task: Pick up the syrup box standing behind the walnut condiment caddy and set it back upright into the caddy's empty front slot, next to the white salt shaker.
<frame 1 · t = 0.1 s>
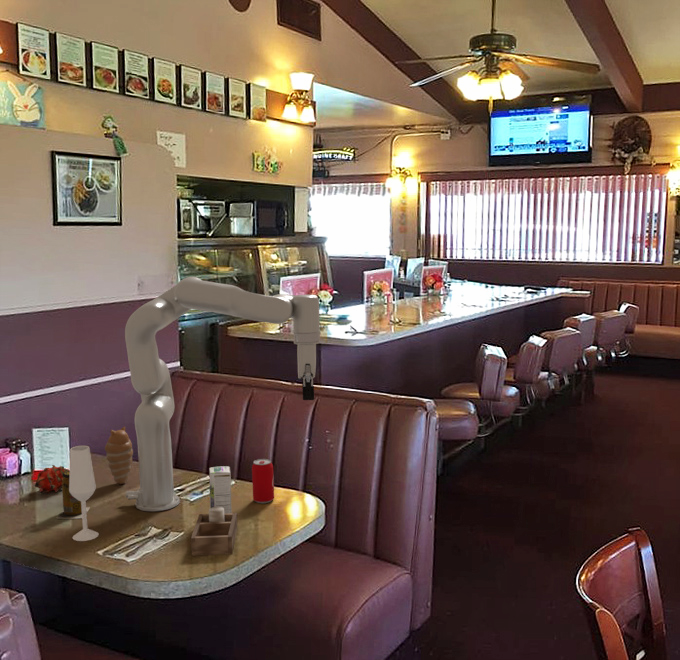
hand: (308, 396, 229), 31 cm above the table, tool pointing down, fingers open, 9 cm apart
beverage can: (263, 501, 233), on the table
dragon fruit: (52, 491, 245), on the table
syrup box: (221, 520, 219), on the table
champagne flute: (85, 536, 209), on the table
condiment: (73, 514, 226), on the table
caddy: (215, 541, 204), on the table
cat ice cream: (121, 484, 251), on the table
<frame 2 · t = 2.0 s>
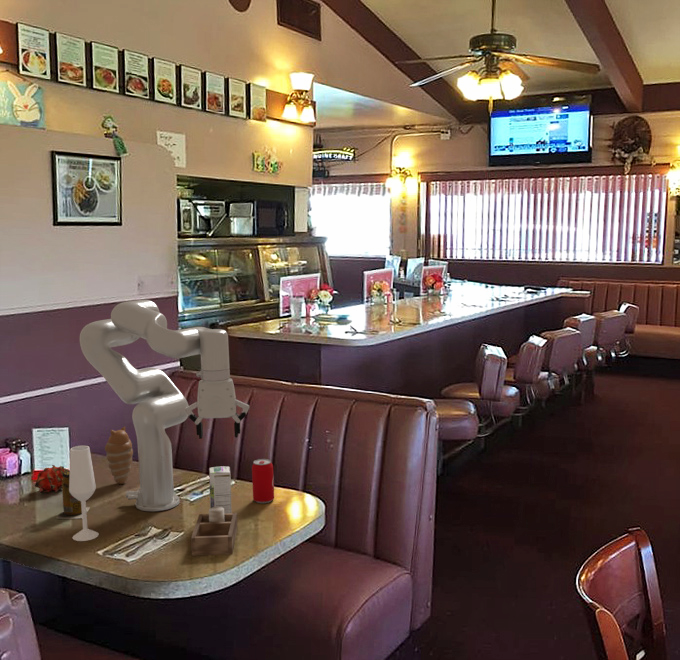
hand: (218, 436, 215), 24 cm above the table, tool pointing down, fingers open, 9 cm apart
nothing on the table moved.
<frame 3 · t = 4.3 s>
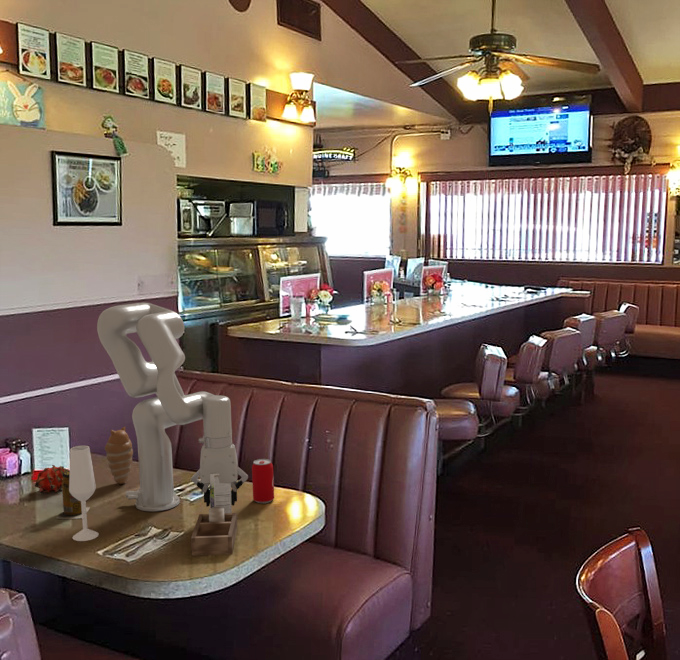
hand: (220, 503, 218), 5 cm above the table, tool pointing down, fingers closed on syrup box, 6 cm apart
syrup box: (221, 520, 219), on the table, touching gripper
everything else where it was.
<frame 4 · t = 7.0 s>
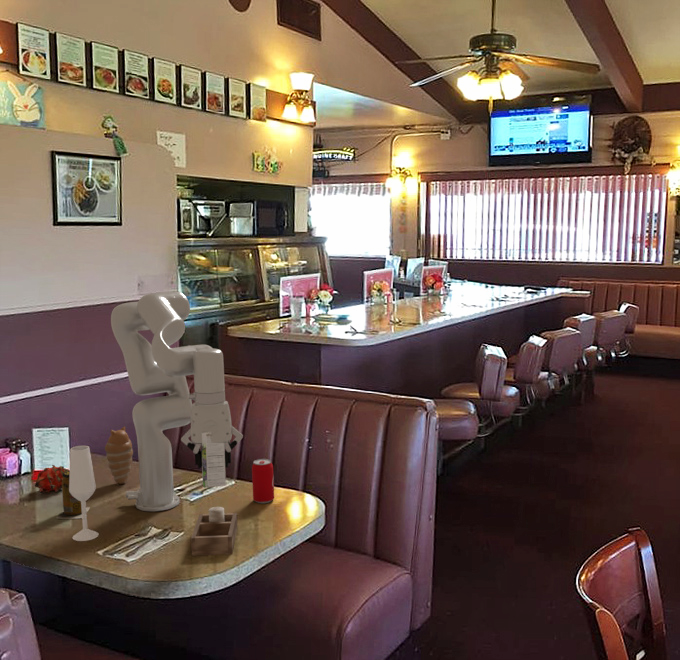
hand: (213, 466, 202), 20 cm above the table, tool pointing down, fingers closed on syrup box, 6 cm apart
syrup box: (214, 484, 202), point 15 cm above the table, touching gripper
everything else where it was.
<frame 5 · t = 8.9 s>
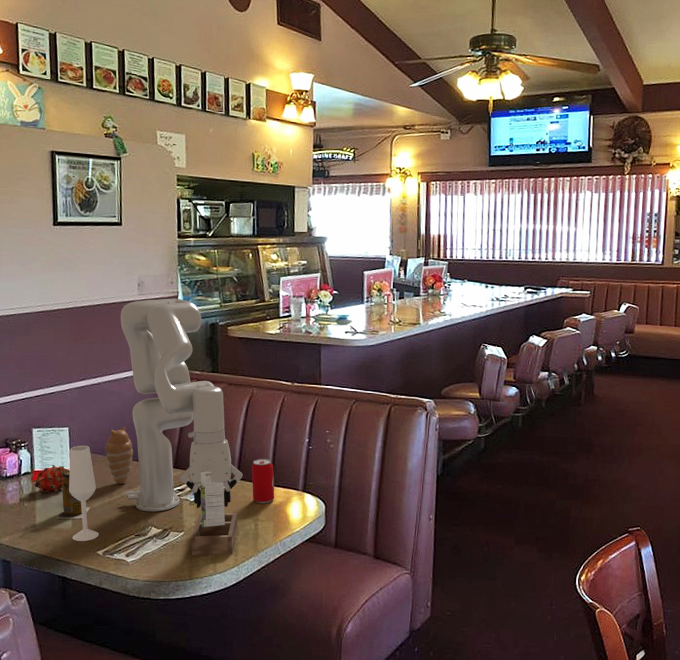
hand: (212, 504, 199), 11 cm above the table, tool pointing down, fingers closed on syrup box, 6 cm apart
syrup box: (213, 523, 200), point 6 cm above the table, touching gripper
everything else where it was.
when the fingers open (7 cm above the table, at t = 10.2 s): syrup box drops 1 cm, resting on caddy.
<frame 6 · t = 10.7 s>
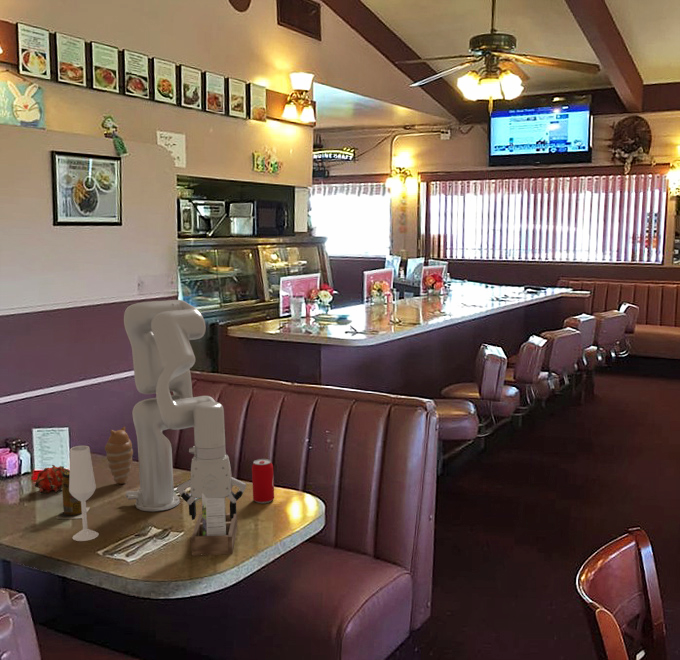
hand: (213, 517, 200), 8 cm above the table, tool pointing down, fingers open, 9 cm apart
syrup box: (215, 543, 201), point 1 cm above the table, touching caddy
everything else where it was.
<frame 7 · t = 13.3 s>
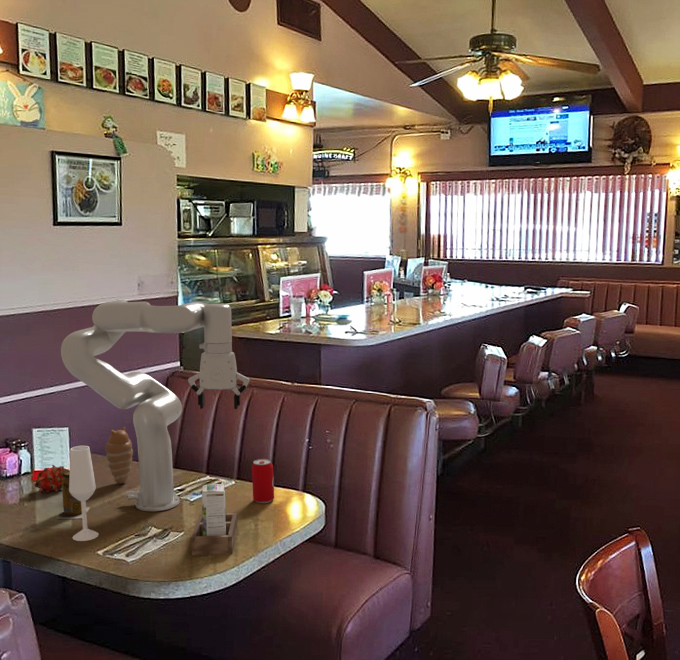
hand: (219, 407, 223), 30 cm above the table, tool pointing down, fingers open, 9 cm apart
nothing on the table moved.
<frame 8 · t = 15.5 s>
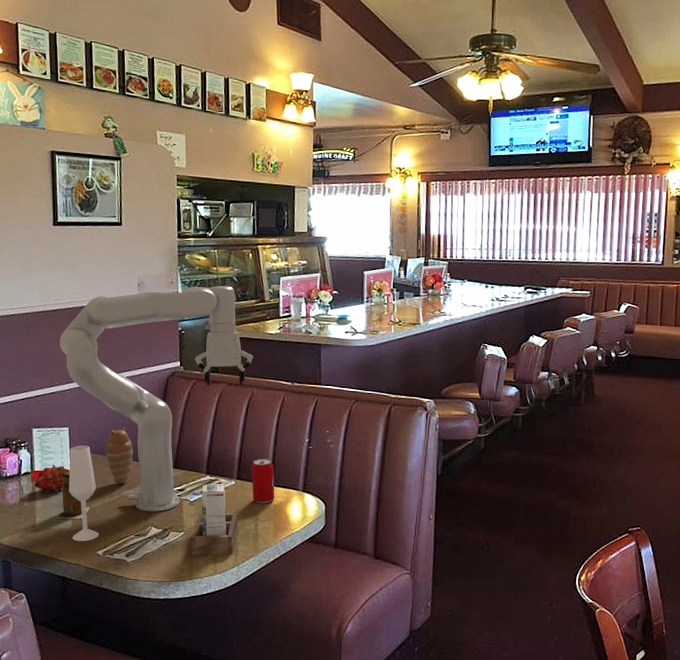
hand: (225, 384, 238), 33 cm above the table, tool pointing down, fingers open, 9 cm apart
nothing on the table moved.
at the end: syrup box 0.3 cm from the target spot on the caddy, point 0.8 cm above the caddy's base; syrup box tilted 0°; the gripper is holding nothing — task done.
